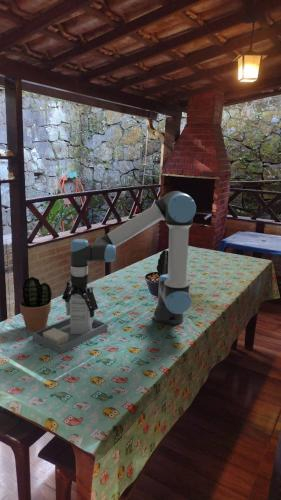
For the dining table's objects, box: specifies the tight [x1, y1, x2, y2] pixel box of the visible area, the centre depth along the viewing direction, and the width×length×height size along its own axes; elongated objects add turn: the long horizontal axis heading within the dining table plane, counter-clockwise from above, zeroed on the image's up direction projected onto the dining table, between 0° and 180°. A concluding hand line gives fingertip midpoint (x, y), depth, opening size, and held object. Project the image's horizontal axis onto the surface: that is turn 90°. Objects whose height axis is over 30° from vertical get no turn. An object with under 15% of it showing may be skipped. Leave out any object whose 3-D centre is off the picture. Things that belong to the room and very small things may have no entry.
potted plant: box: [19, 276, 53, 332], centre depth 167 cm, size 14×14×25 cm
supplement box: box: [69, 294, 92, 334], centre depth 166 cm, size 10×9×17 cm
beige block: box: [43, 328, 68, 345], centre depth 156 cm, size 9×6×4 cm, turn 54°
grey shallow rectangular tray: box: [32, 316, 108, 354], centre depth 163 cm, size 18×28×4 cm, turn 144°
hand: (79, 319), depth 166 cm, fingers open, 13 cm apart
